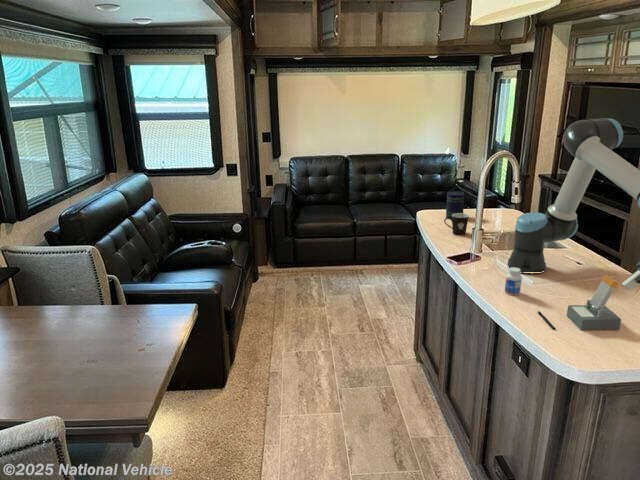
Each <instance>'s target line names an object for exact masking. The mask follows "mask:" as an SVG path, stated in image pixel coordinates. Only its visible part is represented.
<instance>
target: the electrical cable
mask: <svg viewBox="0 0 640 480" xmlns="http://www.w3.org/2000/svg"><path fill="white" fill-rule="evenodd" d="M536 313H537V314H538V315H539V316H540V317H541V318H542V319H543V321H545V323H546V324H547V325H548V326H549V327H550V328H551V330H553V331H556V330H557V329H556V327H555V326H554V325H553V324H552V323H551V322H550V320H549V319H547V317H546V316H544V314H543V313H542V312H541V311H540V310H537V312H536Z"/></svg>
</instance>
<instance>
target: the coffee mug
mask: <svg viewBox="0 0 640 480" xmlns="http://www.w3.org/2000/svg"><path fill="white" fill-rule="evenodd" d="M469 217H470V215H469V214H466V213H464V212H463V213H456V214H452V219H451V218H446V217H445V219H444V224H445V225H446V226H447V227H449V228H450V229H452V234H453V235H454V236H465V235H466V233H467V228H468V227H467V226H468V224H469V223H468V221H469ZM446 220H450V221H451V223H452V226H450V225H449V224H448V223H446Z"/></svg>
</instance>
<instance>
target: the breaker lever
mask: <svg viewBox="0 0 640 480" xmlns="http://www.w3.org/2000/svg"><path fill="white" fill-rule="evenodd" d="M600 281H601V282H600V283H599V285H598V287H597V289H596V291H595V292H594V294H593V296H592V297H591V299H590V300H591V301H590V302H589V303H588V306H589V307H590V308H591V309H592V310H593V311H594V312H595V313H597V314H598V310H602V309H603V307H604V306H606V304H607V302H609V301H608V300H609V299H610V297H611V295H612V294H613V293H614V291H615V289H617V288H618V286H619V284H620V283H619V282H618V281H617V280H615V279H614V278H613V277H611V276H610V275H607V274H603V276H602V277H601V279H600Z"/></svg>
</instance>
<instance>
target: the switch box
mask: <svg viewBox="0 0 640 480" xmlns="http://www.w3.org/2000/svg"><path fill="white" fill-rule="evenodd" d="M590 301H591V299H586V303H585V304H582V305H581V304H578V305H577V304H575V305H572V304H571V305H569V304H568V306H567V310H566V317H567V318H568V319H569V320H570V321H571V322H572V323H573V325H575V326H576V327H577V328H578V329H579V330H580V331H582V332H583V331H620V328H621V323H622V318H621V317H619V316H618V315H617V314H616V313H615V312H614V311H612V310H611V309H610V308H609V307H608V306H607V305H605V306H604V307H603V309H602V310H598V314H597V313H595V312H594V311H593V310H592V309H591V308H590V307H589V306H588V303H589V302H590Z"/></svg>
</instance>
